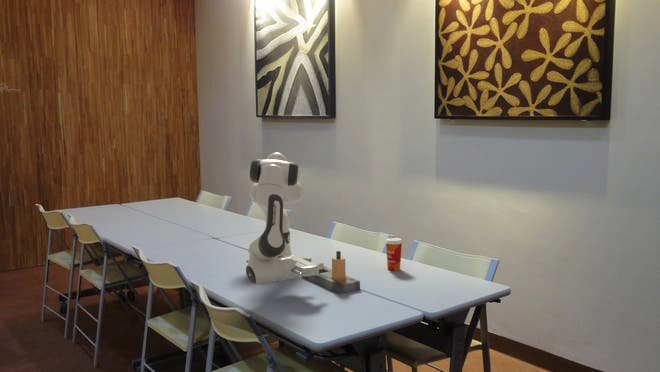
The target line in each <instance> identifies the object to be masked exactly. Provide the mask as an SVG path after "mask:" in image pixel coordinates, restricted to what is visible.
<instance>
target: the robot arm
mask: <svg viewBox="0 0 660 372" xmlns="http://www.w3.org/2000/svg"><path fill="white" fill-rule="evenodd" d="M248 176H249V179H250V181H251V182H253V184H252V186H251V187H250V190H249V196H250V199H251V201H252V202H253V203H254V204H256V205H257V206H258V207H259V208H260V209H261V210H262V212H263V214H264V218H265V229H264V230H263V232H262V234H261V235H260V236H258V237H257V238H256V239H255V240H253V241H252V242H251V243H250V244H249V247H248V255H249V256H248V257H247V258H246V261H247V265H246V267H245V274H246V278H247V279H248V280H249V282H250V283H251V284H254V285H264V284H270V283H273V282H275V281H286V280H290V279H291V280H292V279H294V277H295V276H296V275H298V276H299V277H302V276H313V275H317V274H319V269H320V268H323V267H325V266H324V263H323V262H318V263H317V264H316V263H314V262H312V258H311V257H299V256H297V255H294V254H292V249H291V231H290V220H289V219H290V218H289V215H288V214H287V212H285V211H284V204H293V203H298V202H300V201H301V200H302V198H303V196H304V187H303V185H302V184H301V183H300V182H299V180H300V176H301V170H300V168H299V165H298V163H296V162H293V161H292V160H291V161H288V159H287V158H286V156H285V155H284V154H282V153H281V152H272V153H271V154H269V155H268V156H267V157H266V159H261V158H257V159H256V158H255V159H253V160H252V161H251V163H250V165H249V167H248Z"/></svg>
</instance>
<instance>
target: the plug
mask: <svg viewBox="0 0 660 372" xmlns="http://www.w3.org/2000/svg"><path fill="white" fill-rule="evenodd" d="M335 253H336V257H333V258H331V269H332V279H333V280H335V281H341V280H346V277H345V275H346V258H344V257H341V256H342V255H341V254H342V252H341V250H336V252H335Z"/></svg>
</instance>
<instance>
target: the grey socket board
mask: <svg viewBox="0 0 660 372" xmlns="http://www.w3.org/2000/svg"><path fill="white" fill-rule="evenodd" d="M301 277H303V278H304V279H307V280H308V281H311V282H313V283H316V284H318V285H319V286H322V287H324V288H326V289H328V290H330V291H333V292H335V293H337V294H339V295H341V294H345V293H350V292H355V291H359V290H361V280H358V279H356V278H353V277H350V276H349V275H346V274H345V277H346V280H341V281H335V280H333V279H332V268H328V267H326V266H324V267H323V268H320V269H319V274H317V275H313V276H301Z"/></svg>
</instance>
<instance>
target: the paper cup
mask: <svg viewBox="0 0 660 372" xmlns="http://www.w3.org/2000/svg"><path fill="white" fill-rule="evenodd" d="M402 244H403V241H402V239H401V238H398V237H389V238H386V239H385V246H386V247H385V248H386V259H387V260H386V262H387V264H386V265H387V271H391V272H398V271H400V270H401V258H402Z"/></svg>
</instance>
